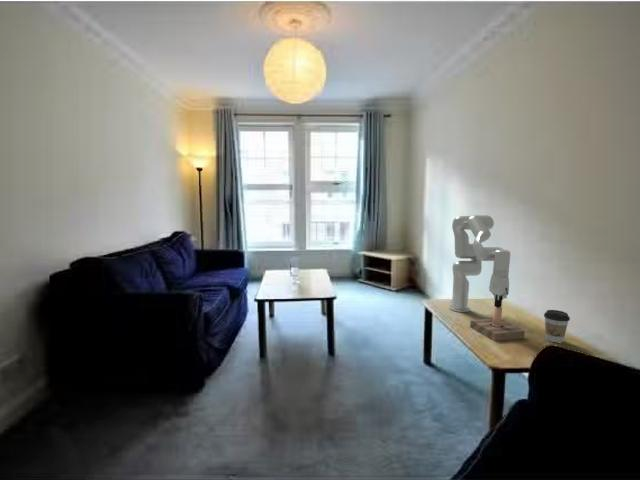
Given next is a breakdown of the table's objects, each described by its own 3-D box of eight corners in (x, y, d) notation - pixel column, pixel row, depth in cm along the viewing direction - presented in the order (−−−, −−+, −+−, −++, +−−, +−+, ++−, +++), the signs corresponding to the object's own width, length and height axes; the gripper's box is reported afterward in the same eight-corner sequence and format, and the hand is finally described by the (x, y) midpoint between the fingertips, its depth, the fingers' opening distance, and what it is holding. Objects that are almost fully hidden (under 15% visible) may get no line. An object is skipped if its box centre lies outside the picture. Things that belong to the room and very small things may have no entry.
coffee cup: (540, 341, 194) (543, 313, 192) (542, 335, 204) (544, 307, 202) (567, 347, 188) (570, 317, 186) (567, 339, 197) (570, 311, 195)
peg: (490, 331, 208) (492, 306, 206) (496, 330, 209) (498, 305, 207) (495, 334, 204) (497, 308, 202) (502, 333, 205) (504, 308, 203)
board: (470, 327, 214) (470, 320, 213) (497, 324, 218) (498, 318, 217) (494, 340, 194) (494, 333, 194) (524, 338, 199) (524, 330, 198)
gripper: (485, 270, 208) (482, 302, 211) (504, 276, 194) (501, 311, 196) (497, 269, 210) (494, 302, 213) (517, 276, 196) (513, 310, 198)
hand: (497, 306), depth 205 cm, fingers closed
